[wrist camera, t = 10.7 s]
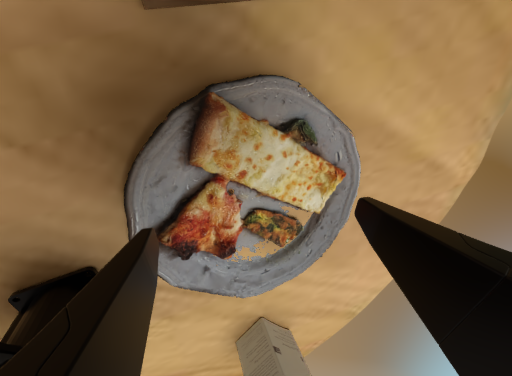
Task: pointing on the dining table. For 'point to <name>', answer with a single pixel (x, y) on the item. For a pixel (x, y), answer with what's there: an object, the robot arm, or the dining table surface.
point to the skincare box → (270, 352)
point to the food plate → (243, 185)
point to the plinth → (180, 3)
